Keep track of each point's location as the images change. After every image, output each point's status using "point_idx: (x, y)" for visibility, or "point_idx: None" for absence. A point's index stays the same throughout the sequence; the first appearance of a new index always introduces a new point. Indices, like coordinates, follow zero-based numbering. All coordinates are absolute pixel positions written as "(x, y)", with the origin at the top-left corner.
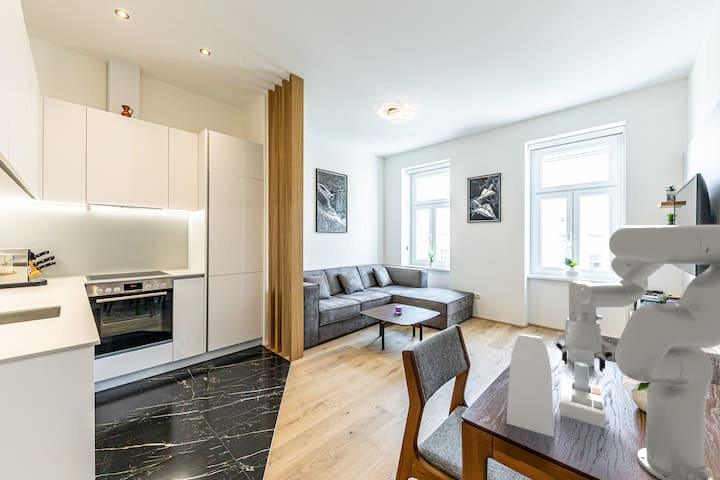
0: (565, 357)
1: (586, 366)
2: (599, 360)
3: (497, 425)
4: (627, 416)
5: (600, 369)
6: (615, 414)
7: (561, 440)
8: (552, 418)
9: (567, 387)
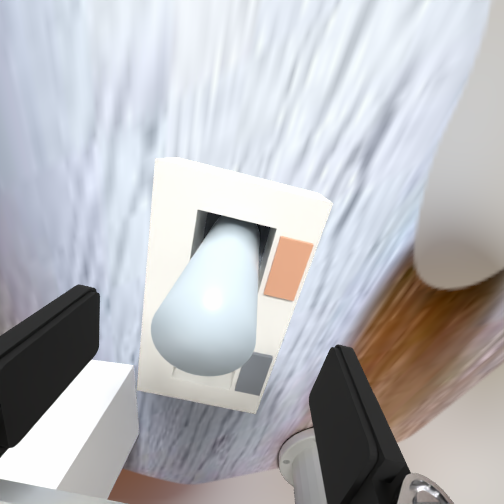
0: (39, 404)
1: (235, 354)
2: (344, 449)
3: None
4: (352, 299)
5: (314, 411)
6: (318, 301)
7: (153, 437)
8: (113, 482)
9: (169, 276)
